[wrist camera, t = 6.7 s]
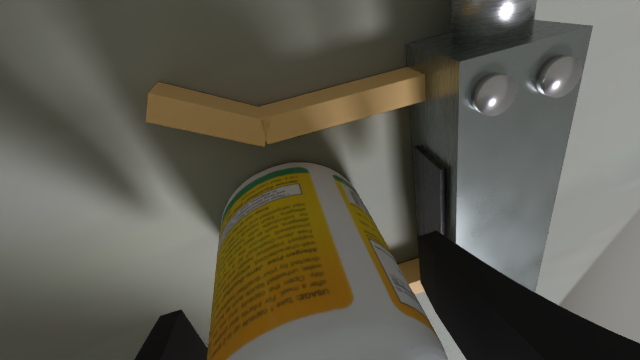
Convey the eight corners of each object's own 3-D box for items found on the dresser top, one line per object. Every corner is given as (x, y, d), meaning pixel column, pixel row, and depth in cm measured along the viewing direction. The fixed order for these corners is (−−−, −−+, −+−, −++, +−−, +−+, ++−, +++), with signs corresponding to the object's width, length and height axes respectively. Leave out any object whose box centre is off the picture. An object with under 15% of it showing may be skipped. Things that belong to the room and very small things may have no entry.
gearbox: (486, 258, 16) (537, 313, 14) (416, 280, 16) (453, 341, 13) (516, -75, 9) (634, -103, 7) (393, -46, 9) (461, -61, 6)
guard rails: (420, 289, 17) (432, 308, 15) (268, 338, 16) (270, 362, 15) (404, 18, 10) (422, 21, 9) (144, 85, 9) (132, 97, 8)
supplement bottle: (380, 175, 13) (632, 511, 4) (330, 277, 15) (439, 628, 7) (239, 140, 11) (235, 597, 3) (206, 262, 13) (147, 721, 5)
